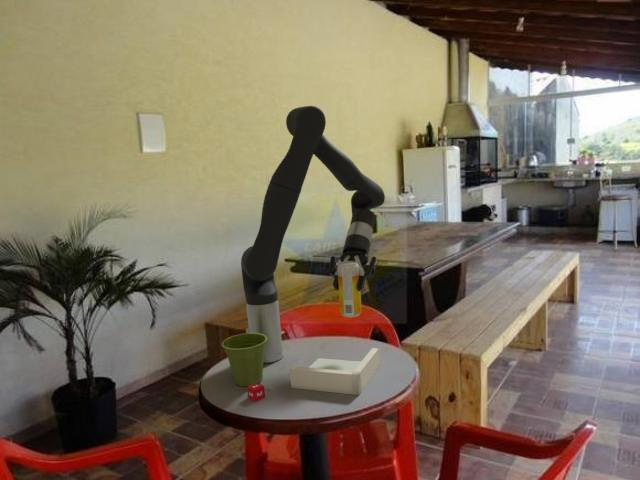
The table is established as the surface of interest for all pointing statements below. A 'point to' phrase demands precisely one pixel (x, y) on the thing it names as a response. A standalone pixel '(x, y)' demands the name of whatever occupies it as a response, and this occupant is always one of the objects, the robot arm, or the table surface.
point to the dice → (256, 392)
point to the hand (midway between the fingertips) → (347, 289)
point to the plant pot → (246, 357)
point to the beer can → (349, 289)
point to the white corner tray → (336, 374)
